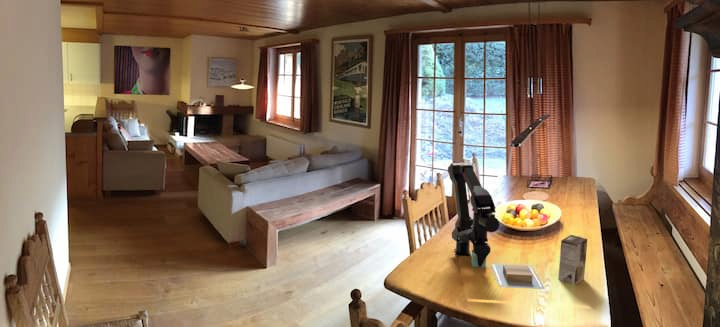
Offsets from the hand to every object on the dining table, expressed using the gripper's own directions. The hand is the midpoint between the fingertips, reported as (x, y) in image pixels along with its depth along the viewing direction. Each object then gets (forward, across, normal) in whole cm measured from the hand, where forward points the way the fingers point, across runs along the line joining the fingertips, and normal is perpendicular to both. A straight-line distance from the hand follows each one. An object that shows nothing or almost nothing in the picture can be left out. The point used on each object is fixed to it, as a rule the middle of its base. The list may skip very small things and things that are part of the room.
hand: (478, 262), depth 197 cm
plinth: (+1, +11, +13) cm, 17 cm away
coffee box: (+2, +9, +33) cm, 34 cm away
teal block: (+2, 0, 0) cm, 2 cm away
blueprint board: (+2, +9, +13) cm, 16 cm away
